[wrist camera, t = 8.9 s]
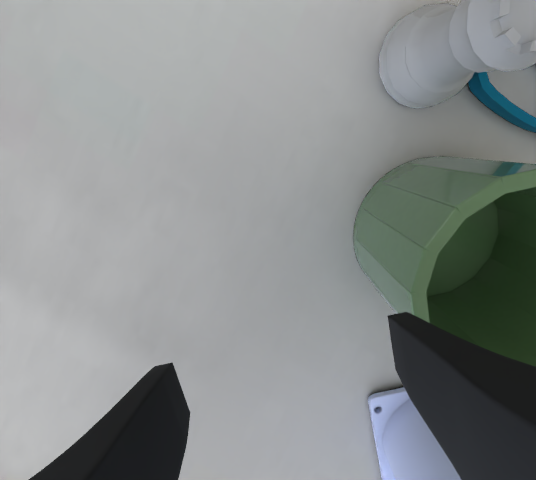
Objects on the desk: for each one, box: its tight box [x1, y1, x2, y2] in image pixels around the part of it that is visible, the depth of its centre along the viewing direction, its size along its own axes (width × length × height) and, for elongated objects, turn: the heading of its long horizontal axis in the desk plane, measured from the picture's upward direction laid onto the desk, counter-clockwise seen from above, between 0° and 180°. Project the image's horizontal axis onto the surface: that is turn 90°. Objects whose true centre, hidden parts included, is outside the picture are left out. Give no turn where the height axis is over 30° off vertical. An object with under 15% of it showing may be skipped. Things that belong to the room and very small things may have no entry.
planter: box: [353, 156, 536, 366], centre depth 16 cm, size 8×8×8 cm
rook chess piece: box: [379, 0, 536, 108], centre depth 14 cm, size 4×4×8 cm
